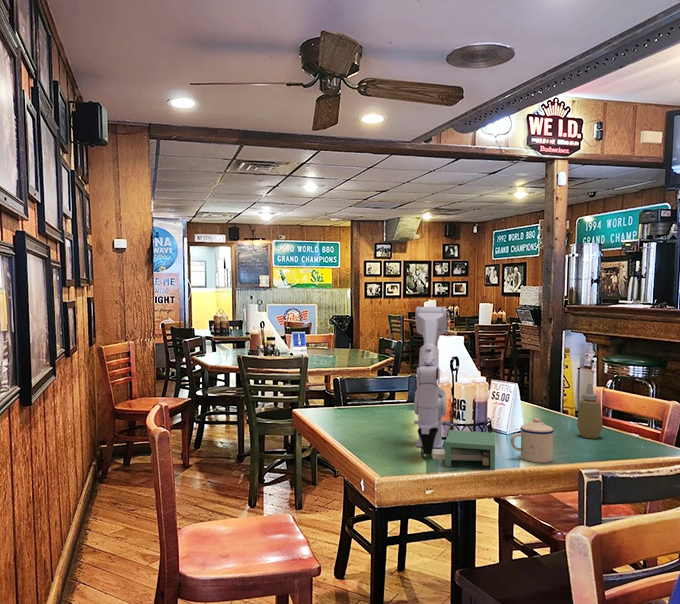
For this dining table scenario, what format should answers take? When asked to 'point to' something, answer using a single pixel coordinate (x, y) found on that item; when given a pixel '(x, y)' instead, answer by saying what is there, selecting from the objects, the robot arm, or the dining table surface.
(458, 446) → the shelf
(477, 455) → the beige rectangular block
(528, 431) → the teacup with lid
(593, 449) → the dining table surface
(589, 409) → the squeeze bottle
